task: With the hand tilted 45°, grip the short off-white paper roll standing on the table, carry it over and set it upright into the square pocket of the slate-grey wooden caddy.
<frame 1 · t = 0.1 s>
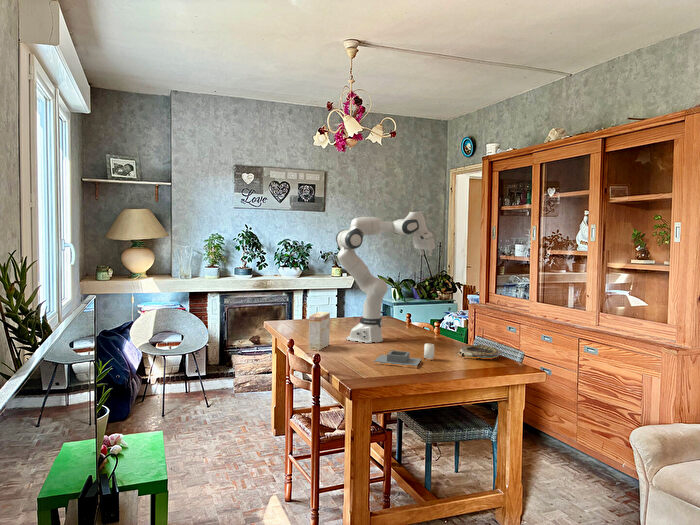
hand: (426, 255, 328), 52 cm above the table, tool tilted 20°, fingers open, 8 cm apart
coffeecake box: (319, 348, 295), on the table
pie: (480, 357, 284), on the table
roll caddy: (398, 362, 266), on the table
paper roll: (428, 359, 275), on the table
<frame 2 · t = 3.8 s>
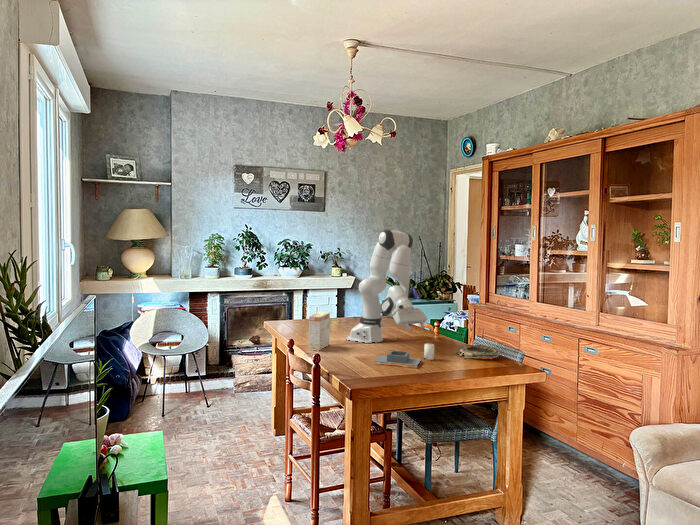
hand: (417, 329, 282), 14 cm above the table, tool tilted 45°, fingers open, 8 cm apart
nothing on the table moved.
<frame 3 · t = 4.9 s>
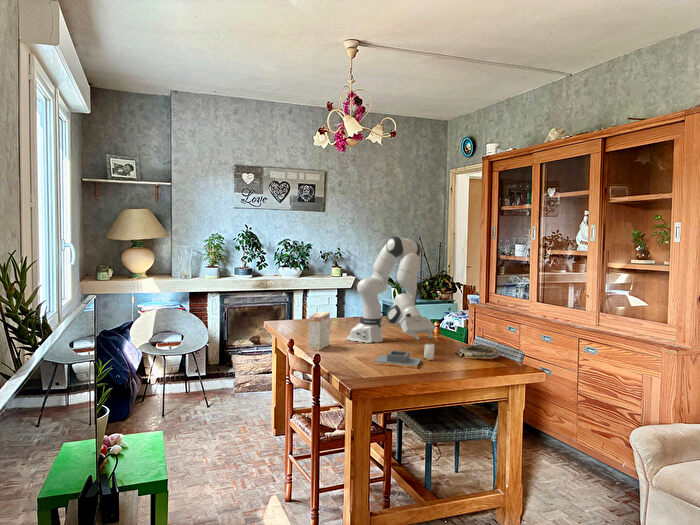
hand: (424, 338, 277), 11 cm above the table, tool tilted 45°, fingers open, 8 cm apart
nothing on the table moved.
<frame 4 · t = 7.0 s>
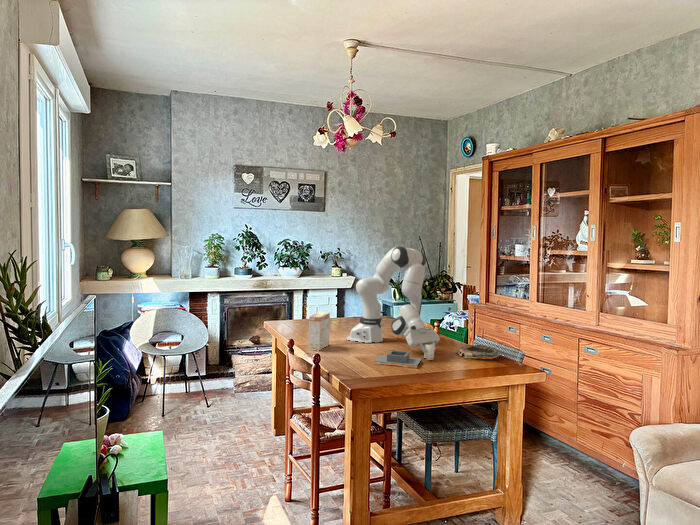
hand: (430, 351, 274), 5 cm above the table, tool tilted 45°, fingers closed on paper roll, 5 cm apart
paper roll: (428, 359, 275), on the table, touching gripper
everything else where it was.
when the fingers open (7 cm above the table, at t = 12.2 s): paper roll drops 1 cm, resting on roll caddy.
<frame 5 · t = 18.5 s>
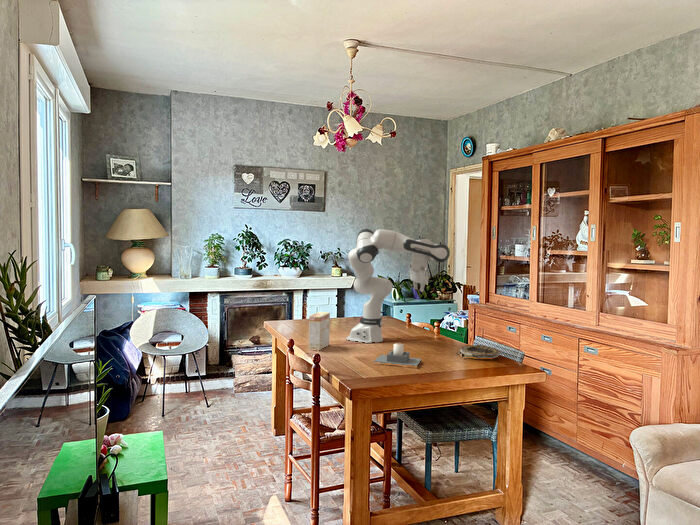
hand: (418, 290, 294), 34 cm above the table, tool pointing down, fingers open, 8 cm apart
paper roll: (398, 359, 266), point 2 cm above the table, touching roll caddy
everything else where it was.
at the end: paper roll 0.0 cm off-centre on the roll caddy, point 1.5 cm above the roll caddy's base; paper roll tilted 0°; the gripper is holding nothing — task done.
